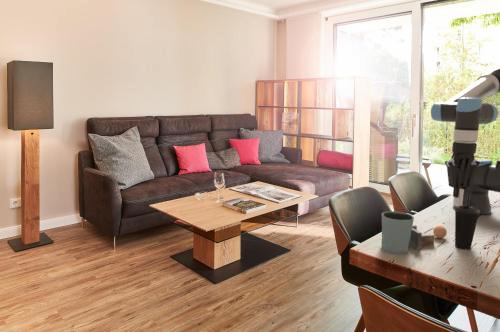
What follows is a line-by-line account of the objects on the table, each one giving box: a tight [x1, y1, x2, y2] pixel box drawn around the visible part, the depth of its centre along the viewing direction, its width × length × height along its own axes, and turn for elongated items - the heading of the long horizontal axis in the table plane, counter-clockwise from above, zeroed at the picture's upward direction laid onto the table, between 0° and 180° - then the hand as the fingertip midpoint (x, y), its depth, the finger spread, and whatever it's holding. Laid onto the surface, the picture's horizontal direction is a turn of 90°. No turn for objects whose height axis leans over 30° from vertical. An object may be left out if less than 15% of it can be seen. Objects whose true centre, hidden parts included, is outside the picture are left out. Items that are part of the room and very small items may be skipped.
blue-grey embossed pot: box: [381, 210, 415, 255], centre depth 135 cm, size 10×10×12 cm
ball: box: [432, 225, 448, 239], centre depth 146 cm, size 4×4×4 cm
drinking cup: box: [454, 191, 480, 251], centre depth 136 cm, size 8×8×20 cm
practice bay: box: [409, 224, 436, 251], centre depth 142 cm, size 9×14×6 cm, turn 13°
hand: (457, 205), depth 145 cm, fingers closed
